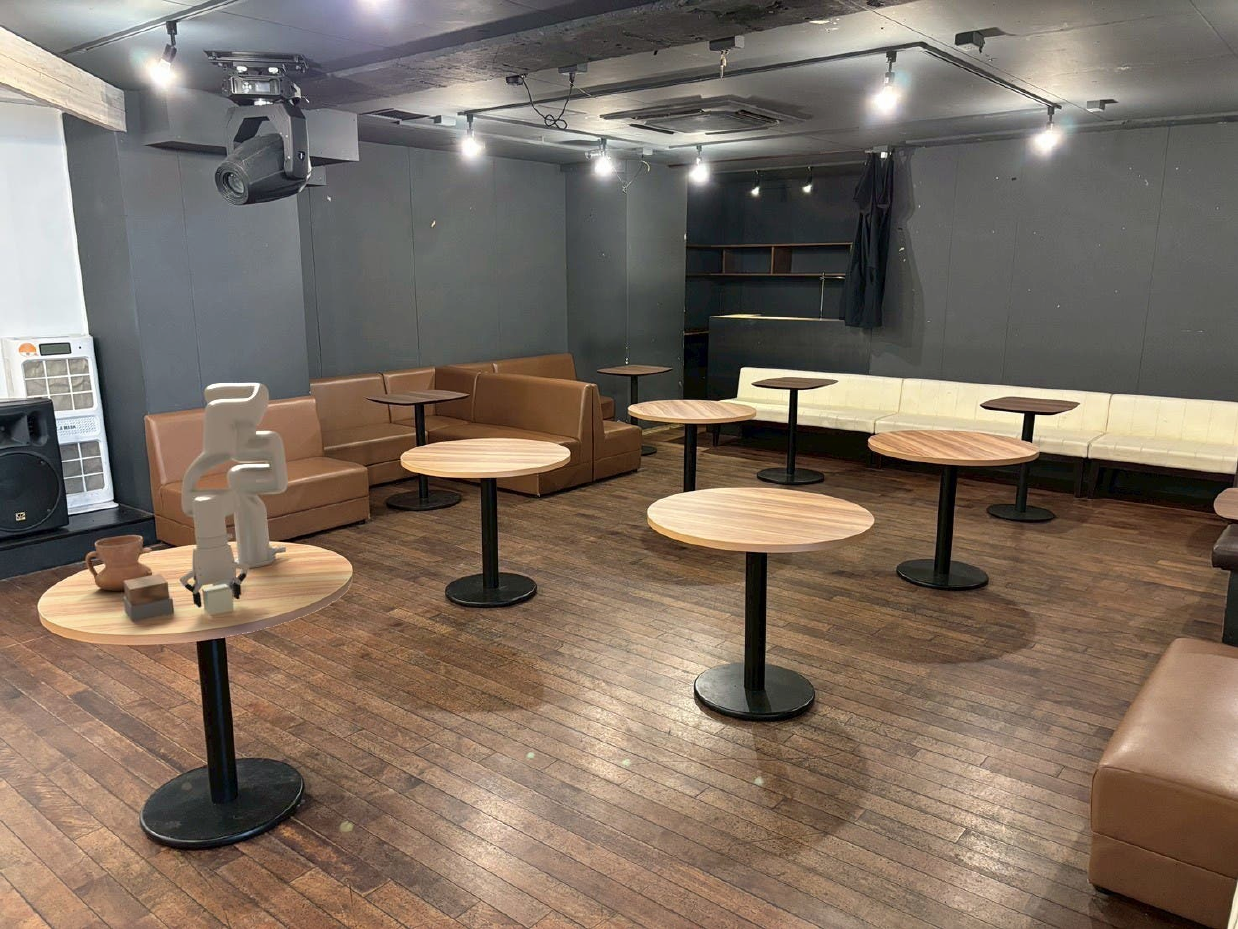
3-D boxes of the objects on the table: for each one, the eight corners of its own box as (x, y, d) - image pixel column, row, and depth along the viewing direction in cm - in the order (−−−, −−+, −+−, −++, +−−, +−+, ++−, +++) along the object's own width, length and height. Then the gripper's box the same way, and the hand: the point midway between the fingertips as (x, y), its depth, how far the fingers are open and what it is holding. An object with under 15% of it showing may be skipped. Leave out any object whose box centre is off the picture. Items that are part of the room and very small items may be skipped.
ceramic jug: (165, 577, 262) (159, 531, 259) (144, 593, 248) (138, 545, 245) (102, 580, 260) (96, 535, 257) (78, 597, 246) (71, 548, 243)
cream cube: (227, 604, 239) (225, 583, 238) (233, 610, 234) (231, 589, 233) (204, 609, 235) (201, 588, 234) (209, 615, 231) (207, 594, 230)
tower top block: (162, 589, 239) (160, 573, 238) (169, 598, 232) (167, 582, 231) (125, 596, 233) (123, 580, 233) (131, 605, 227) (129, 589, 226)
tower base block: (166, 604, 240) (164, 588, 239) (174, 614, 233) (172, 598, 232) (125, 612, 234) (123, 596, 233) (132, 623, 227) (130, 607, 226)
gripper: (241, 532, 239) (247, 591, 243) (173, 544, 229) (180, 605, 232) (249, 538, 233) (255, 598, 237) (179, 550, 223) (186, 613, 226)
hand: (218, 602), depth 234 cm, fingers open, 9 cm apart
